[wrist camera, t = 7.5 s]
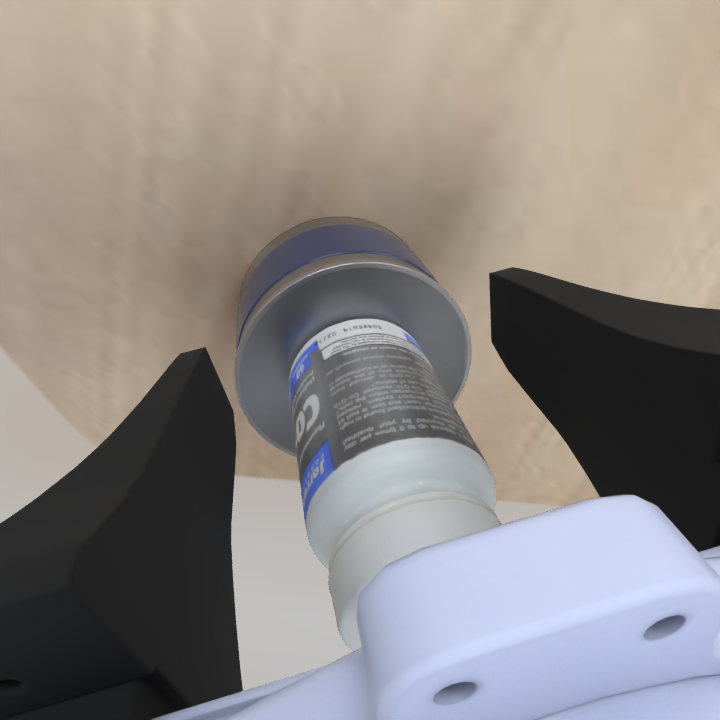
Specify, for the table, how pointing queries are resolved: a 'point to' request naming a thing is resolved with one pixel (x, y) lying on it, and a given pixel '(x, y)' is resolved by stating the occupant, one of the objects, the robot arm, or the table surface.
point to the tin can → (335, 311)
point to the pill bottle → (379, 457)
